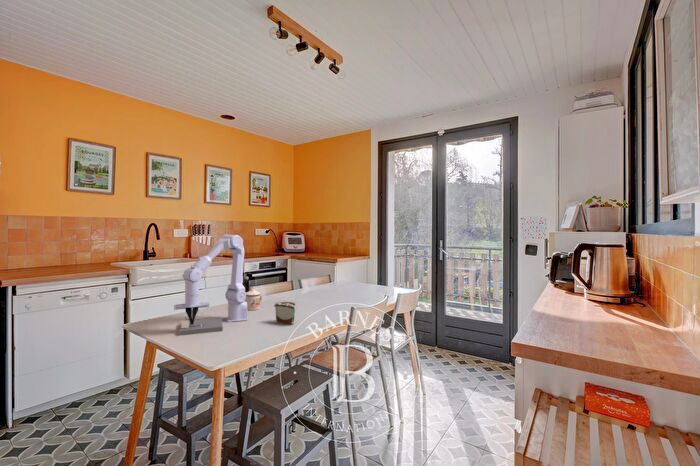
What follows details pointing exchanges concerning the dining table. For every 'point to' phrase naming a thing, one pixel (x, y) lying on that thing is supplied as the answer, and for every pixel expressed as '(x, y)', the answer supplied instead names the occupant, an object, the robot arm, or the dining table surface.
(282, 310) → the food container
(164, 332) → the dining table surface
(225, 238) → the robot arm
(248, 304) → the teacup with lid
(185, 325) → the fader knob
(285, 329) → the dining table surface
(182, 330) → the console
